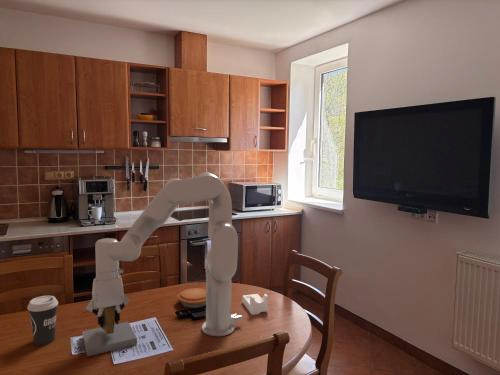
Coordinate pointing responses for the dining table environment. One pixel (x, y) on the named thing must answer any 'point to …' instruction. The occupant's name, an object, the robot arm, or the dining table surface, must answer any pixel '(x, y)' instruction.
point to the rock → (108, 319)
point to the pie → (193, 297)
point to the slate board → (108, 339)
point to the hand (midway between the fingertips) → (109, 323)
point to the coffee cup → (43, 319)
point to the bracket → (256, 303)
